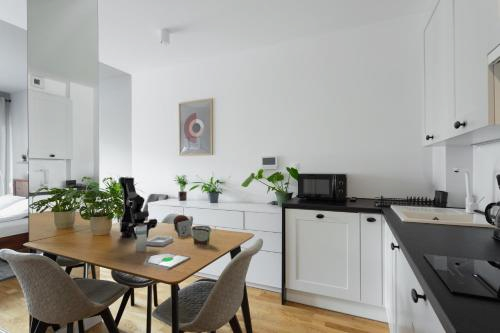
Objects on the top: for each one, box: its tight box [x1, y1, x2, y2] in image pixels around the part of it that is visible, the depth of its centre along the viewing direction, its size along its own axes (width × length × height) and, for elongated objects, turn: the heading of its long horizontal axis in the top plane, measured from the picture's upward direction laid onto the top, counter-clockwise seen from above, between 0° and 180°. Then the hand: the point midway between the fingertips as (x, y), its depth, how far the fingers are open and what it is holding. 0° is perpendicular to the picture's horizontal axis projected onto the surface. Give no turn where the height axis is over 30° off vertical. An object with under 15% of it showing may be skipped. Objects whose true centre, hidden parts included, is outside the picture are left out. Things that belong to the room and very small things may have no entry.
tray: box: [147, 235, 174, 247], centre depth 149 cm, size 11×11×2 cm
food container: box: [191, 225, 212, 247], centre depth 148 cm, size 12×6×10 cm, turn 65°
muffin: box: [172, 214, 190, 231], centre depth 182 cm, size 12×11×10 cm
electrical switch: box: [176, 220, 192, 238], centre depth 167 cm, size 9×5×9 cm, turn 141°
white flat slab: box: [142, 252, 191, 271], centre depth 122 cm, size 17×22×2 cm
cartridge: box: [135, 224, 148, 252], centre depth 136 cm, size 6×6×14 cm
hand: (141, 238), depth 135 cm, fingers closed on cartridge, 5 cm apart
